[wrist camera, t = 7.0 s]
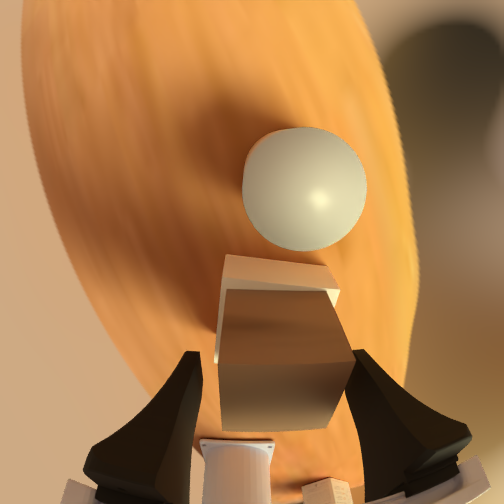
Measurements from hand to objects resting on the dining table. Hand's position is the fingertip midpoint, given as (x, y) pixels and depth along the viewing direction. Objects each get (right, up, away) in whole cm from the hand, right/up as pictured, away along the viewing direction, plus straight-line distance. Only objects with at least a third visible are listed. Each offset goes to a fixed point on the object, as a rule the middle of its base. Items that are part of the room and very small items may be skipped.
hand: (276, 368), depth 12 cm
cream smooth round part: (+1, +10, +2) cm, 10 cm away
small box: (+12, -35, +22) cm, 42 cm away
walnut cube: (0, +1, +2) cm, 3 cm away
